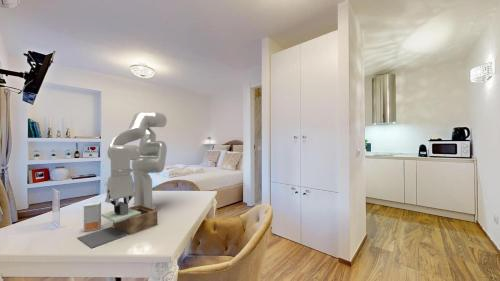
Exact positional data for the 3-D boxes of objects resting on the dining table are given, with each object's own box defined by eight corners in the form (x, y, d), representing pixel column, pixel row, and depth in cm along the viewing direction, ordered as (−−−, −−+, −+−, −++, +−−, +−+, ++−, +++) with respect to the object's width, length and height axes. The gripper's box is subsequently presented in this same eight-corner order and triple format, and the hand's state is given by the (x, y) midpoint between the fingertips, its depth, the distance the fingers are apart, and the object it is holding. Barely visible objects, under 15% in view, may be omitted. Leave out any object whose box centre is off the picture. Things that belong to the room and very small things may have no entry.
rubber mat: (77, 238, 88) (77, 237, 88) (111, 227, 99) (111, 226, 99) (91, 248, 80) (91, 247, 80) (127, 235, 90) (127, 234, 90)
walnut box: (129, 234, 91) (129, 218, 91) (113, 226, 100) (112, 212, 100) (157, 224, 102) (157, 210, 102) (139, 217, 111) (139, 204, 111)
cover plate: (115, 222, 88) (115, 210, 87) (101, 216, 95) (101, 204, 95) (141, 214, 97) (140, 202, 97) (126, 209, 104) (126, 198, 104)
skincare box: (83, 232, 94) (83, 205, 94) (85, 228, 98) (85, 203, 98) (99, 229, 97) (99, 203, 97) (101, 226, 101) (101, 201, 100)
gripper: (134, 169, 104) (134, 206, 105) (96, 175, 91) (97, 216, 91) (142, 171, 100) (143, 209, 100) (104, 176, 87) (105, 220, 87)
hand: (121, 212), depth 96 cm, fingers closed on cover plate, 2 cm apart
